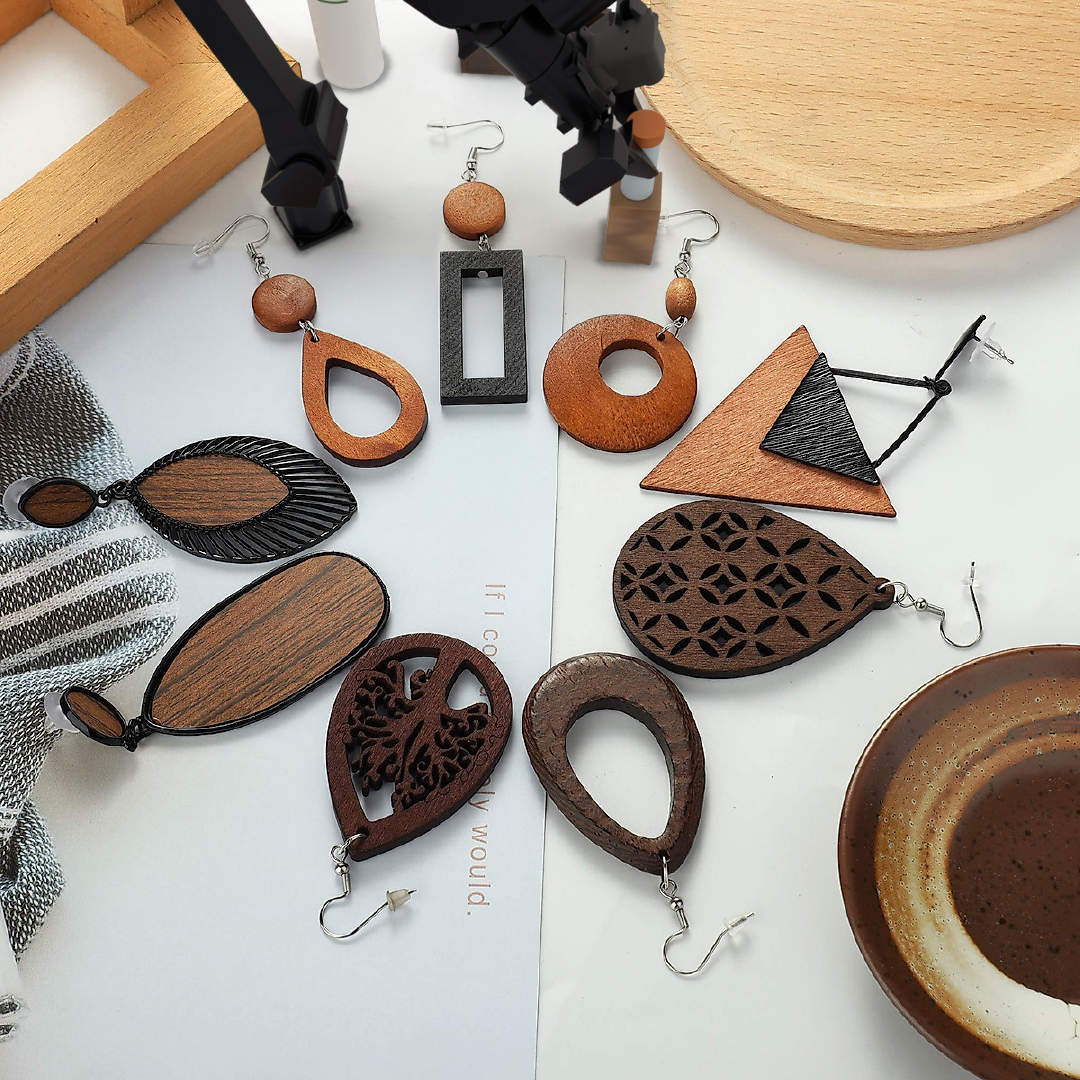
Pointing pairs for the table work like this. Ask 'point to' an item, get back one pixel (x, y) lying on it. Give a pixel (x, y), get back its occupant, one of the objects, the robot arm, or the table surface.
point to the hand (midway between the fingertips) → (655, 161)
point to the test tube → (649, 139)
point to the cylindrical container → (347, 41)
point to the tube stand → (632, 225)
